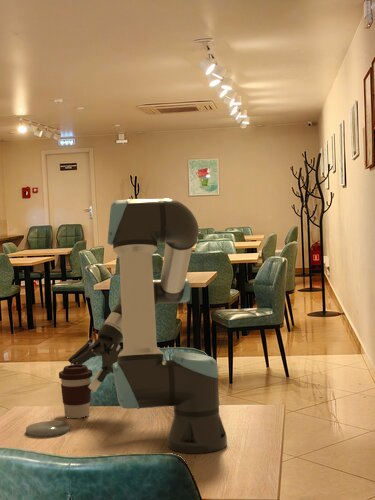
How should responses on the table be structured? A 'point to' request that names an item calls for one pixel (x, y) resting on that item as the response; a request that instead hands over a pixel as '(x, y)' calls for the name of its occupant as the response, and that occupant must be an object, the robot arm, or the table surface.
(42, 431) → the slate coaster
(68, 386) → the coffee cup
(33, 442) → the table surface
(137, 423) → the table surface
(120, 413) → the table surface
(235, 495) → the table surface
